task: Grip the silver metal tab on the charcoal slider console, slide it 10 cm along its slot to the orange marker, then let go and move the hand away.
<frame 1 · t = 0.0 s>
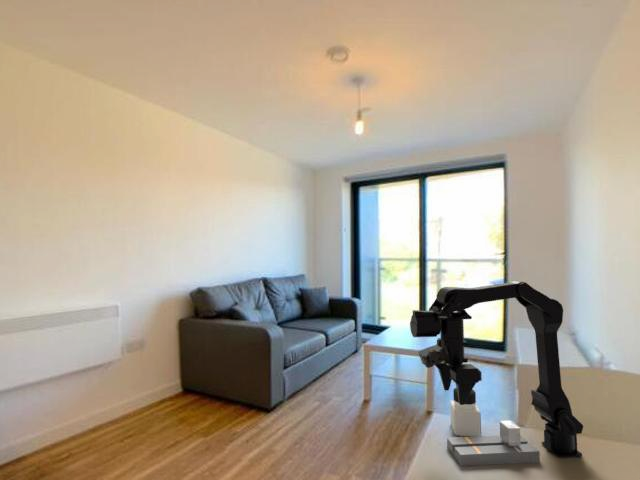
hand: (453, 397, 91), 15 cm above the table, tool pointing down, fingers open, 9 cm apart
fader tab: (510, 436, 91), point 4 cm above the table, slide at -5.0 cm
medicine bottle: (465, 431, 103), on the table
slider console: (491, 454, 91), on the table
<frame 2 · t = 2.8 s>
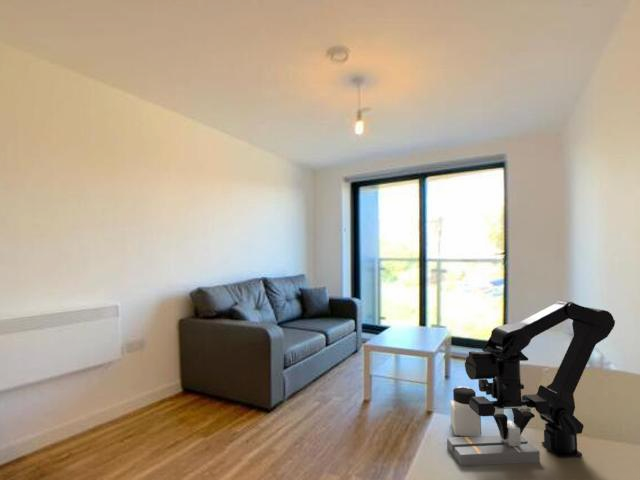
hand: (510, 438, 91), 4 cm above the table, tool pointing down, fingers closed on fader tab, 3 cm apart
fader tab: (510, 436, 91), point 4 cm above the table, slide at -5.0 cm, touching gripper
everything else where it was.
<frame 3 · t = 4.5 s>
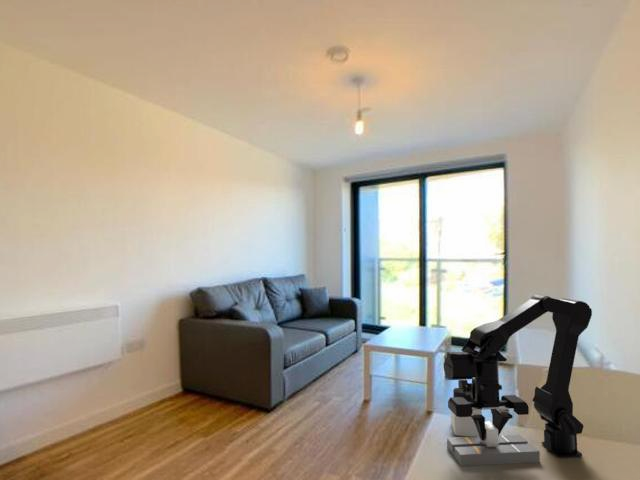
hand: (488, 439, 91), 4 cm above the table, tool pointing down, fingers closed on fader tab, 3 cm apart
fader tab: (488, 437, 91), point 4 cm above the table, slide at 0.7 cm, touching gripper
everything else where it was.
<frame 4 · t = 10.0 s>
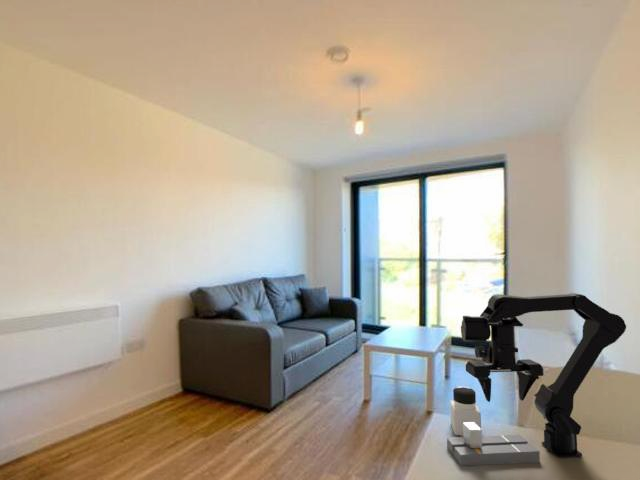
hand: (504, 400, 95), 12 cm above the table, tool pointing down, fingers open, 9 cm apart
fader tab: (472, 438, 91), point 4 cm above the table, slide at 5.0 cm
everything else where it was.
at the end: fader tab slide at 5.0 cm; the gripper is holding nothing; medicine bottle moved 0.2 cm from its start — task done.
